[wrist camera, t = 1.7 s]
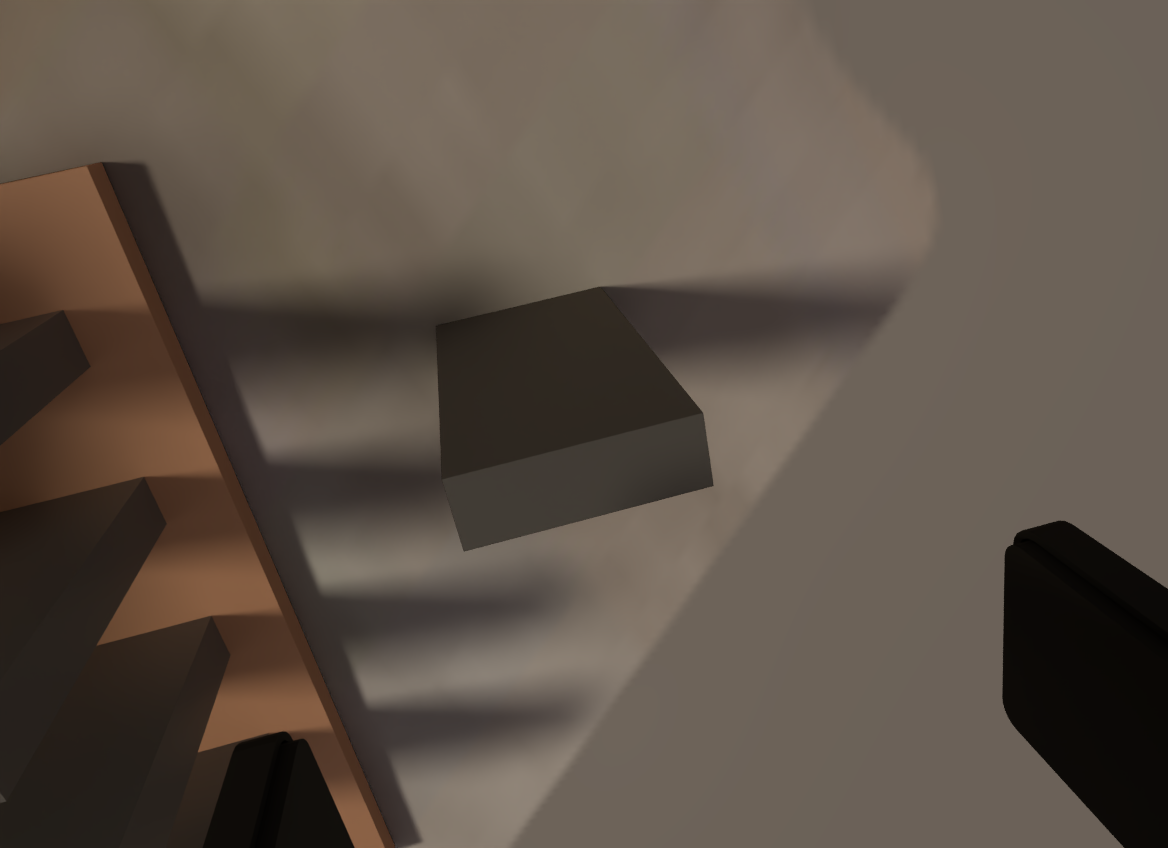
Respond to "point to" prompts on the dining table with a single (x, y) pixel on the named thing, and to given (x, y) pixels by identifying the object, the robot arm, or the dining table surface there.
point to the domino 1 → (35, 366)
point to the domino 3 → (121, 744)
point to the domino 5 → (559, 419)
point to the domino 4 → (201, 796)
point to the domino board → (160, 472)
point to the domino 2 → (61, 601)
